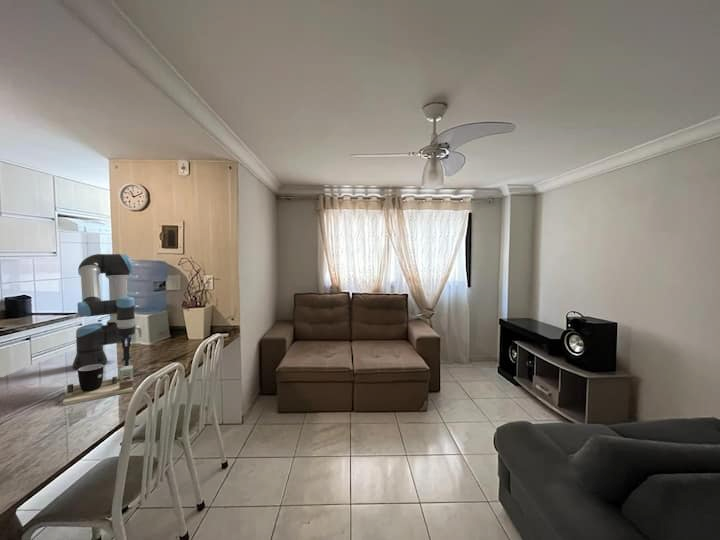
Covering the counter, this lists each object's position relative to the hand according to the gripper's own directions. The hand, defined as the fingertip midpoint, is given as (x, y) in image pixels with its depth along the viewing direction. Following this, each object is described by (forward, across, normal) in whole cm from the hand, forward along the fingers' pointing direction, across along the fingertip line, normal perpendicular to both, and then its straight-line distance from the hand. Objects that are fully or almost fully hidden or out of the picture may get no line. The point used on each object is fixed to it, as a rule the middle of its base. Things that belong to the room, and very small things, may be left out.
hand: (127, 371), depth 162 cm
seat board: (+3, +12, -10) cm, 16 cm away
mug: (+2, +11, -13) cm, 17 cm away
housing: (+1, +5, 0) cm, 6 cm away
